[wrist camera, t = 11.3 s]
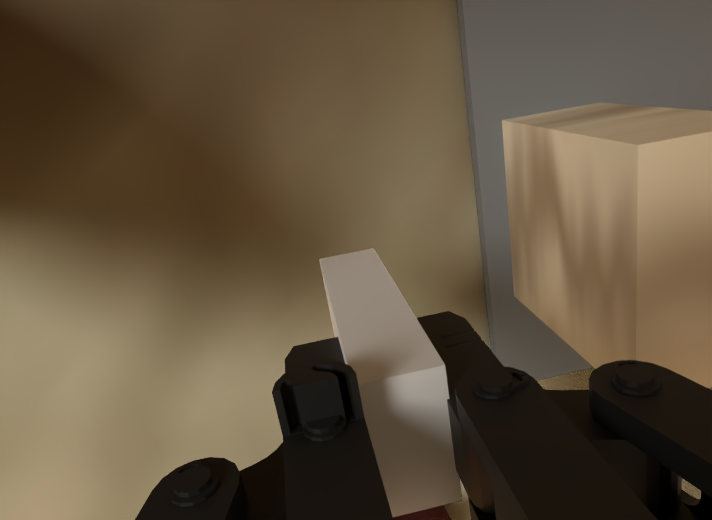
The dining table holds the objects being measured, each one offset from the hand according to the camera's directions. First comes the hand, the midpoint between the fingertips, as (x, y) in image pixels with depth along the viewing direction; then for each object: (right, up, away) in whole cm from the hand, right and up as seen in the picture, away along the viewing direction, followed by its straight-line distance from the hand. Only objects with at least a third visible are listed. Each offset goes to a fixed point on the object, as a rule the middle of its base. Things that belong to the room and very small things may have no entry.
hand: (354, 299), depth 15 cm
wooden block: (+8, +3, +6) cm, 11 cm away
